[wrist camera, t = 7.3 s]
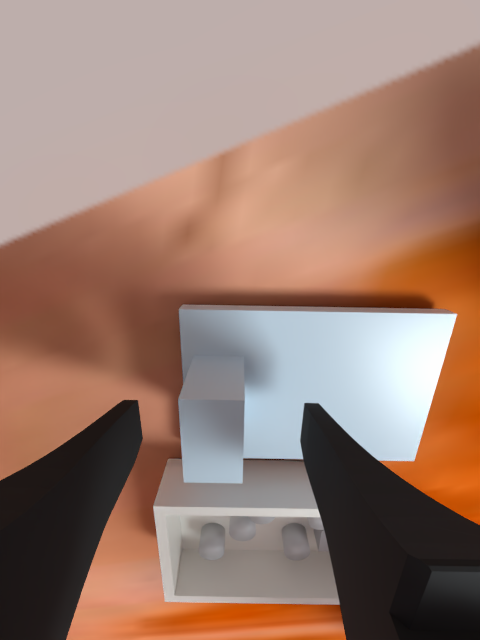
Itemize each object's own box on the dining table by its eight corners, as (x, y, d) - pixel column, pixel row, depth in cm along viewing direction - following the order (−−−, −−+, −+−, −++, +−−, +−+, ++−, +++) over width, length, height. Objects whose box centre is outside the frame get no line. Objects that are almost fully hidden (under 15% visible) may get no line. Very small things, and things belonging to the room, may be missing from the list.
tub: (346, 549, 19) (364, 605, 17) (176, 546, 19) (165, 601, 17) (365, 461, 17) (390, 510, 14) (168, 458, 17) (153, 506, 14)
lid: (405, 450, 16) (462, 526, 12) (190, 446, 16) (172, 521, 12) (444, 308, 13) (535, 346, 9) (182, 304, 13) (155, 340, 9)
